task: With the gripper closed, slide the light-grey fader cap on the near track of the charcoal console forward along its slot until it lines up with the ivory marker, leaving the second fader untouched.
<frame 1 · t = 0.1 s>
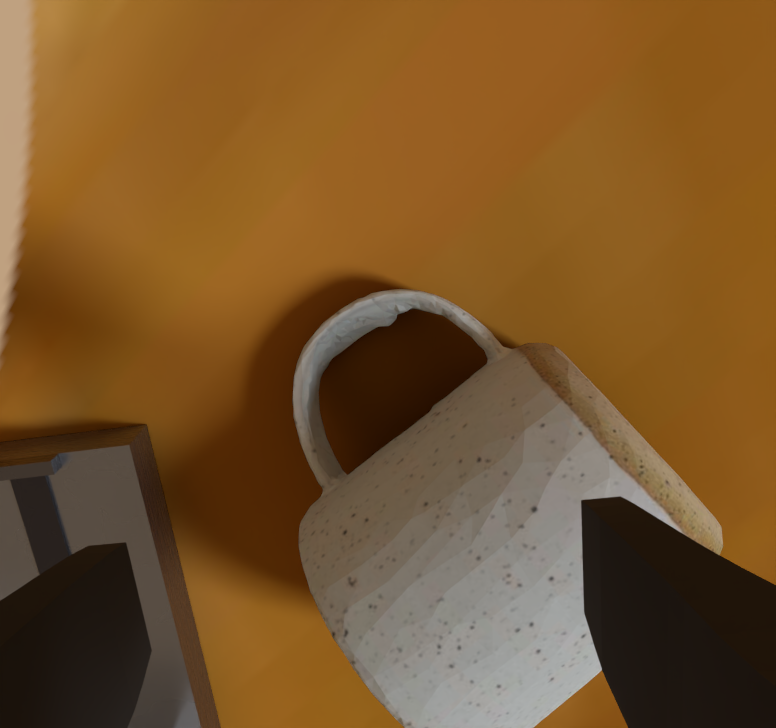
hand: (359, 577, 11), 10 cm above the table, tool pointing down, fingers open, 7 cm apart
console: (25, 718, 24), on the table
ceramic mug: (451, 443, 22), on the table
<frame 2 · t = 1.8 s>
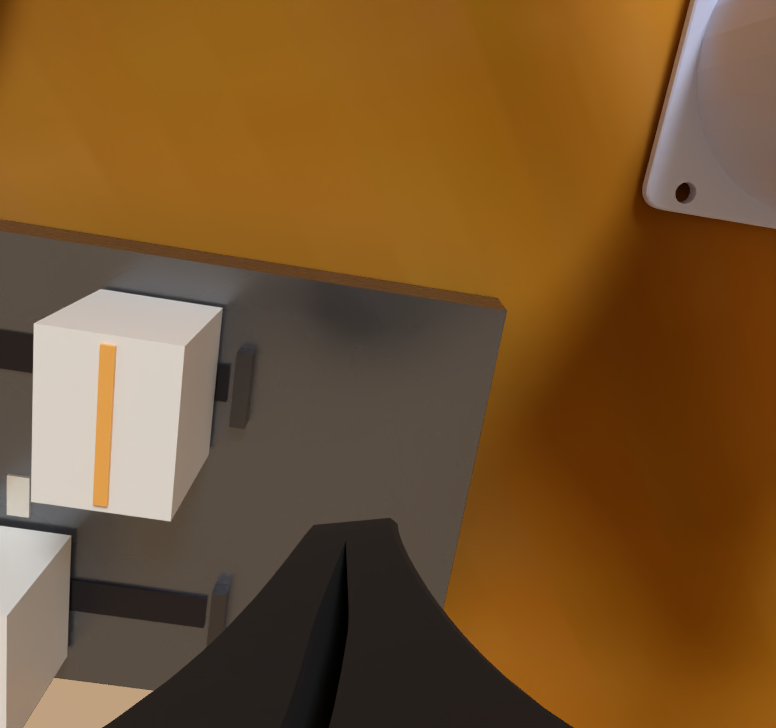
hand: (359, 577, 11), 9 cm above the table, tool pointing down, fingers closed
console: (114, 462, 21), on the table
fader a: (132, 398, 17), point 4 cm above the table, slide at 0.0 cm
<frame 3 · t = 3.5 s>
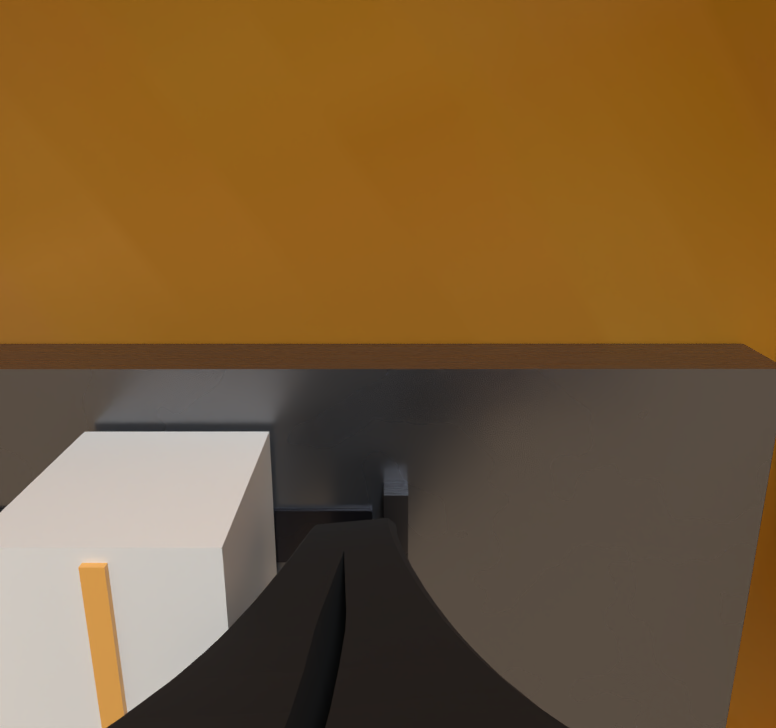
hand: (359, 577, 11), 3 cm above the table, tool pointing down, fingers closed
console: (216, 645, 15), on the table
fader a: (154, 605, 11), point 4 cm above the table, slide at 1.4 cm, touching gripper
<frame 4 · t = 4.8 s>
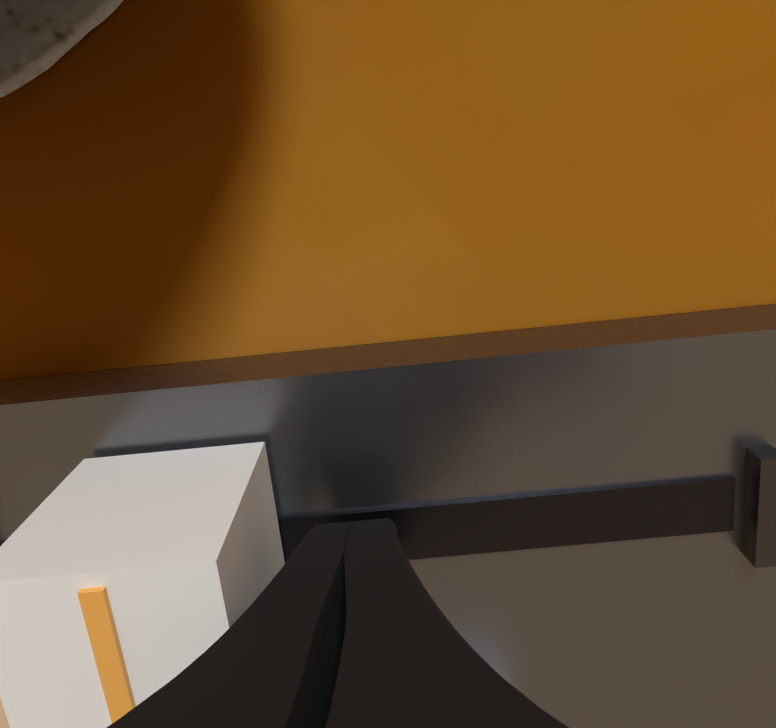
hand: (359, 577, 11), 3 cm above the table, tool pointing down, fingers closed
console: (530, 633, 15), on the table
fader a: (165, 623, 11), point 4 cm above the table, slide at 7.4 cm, touching gripper
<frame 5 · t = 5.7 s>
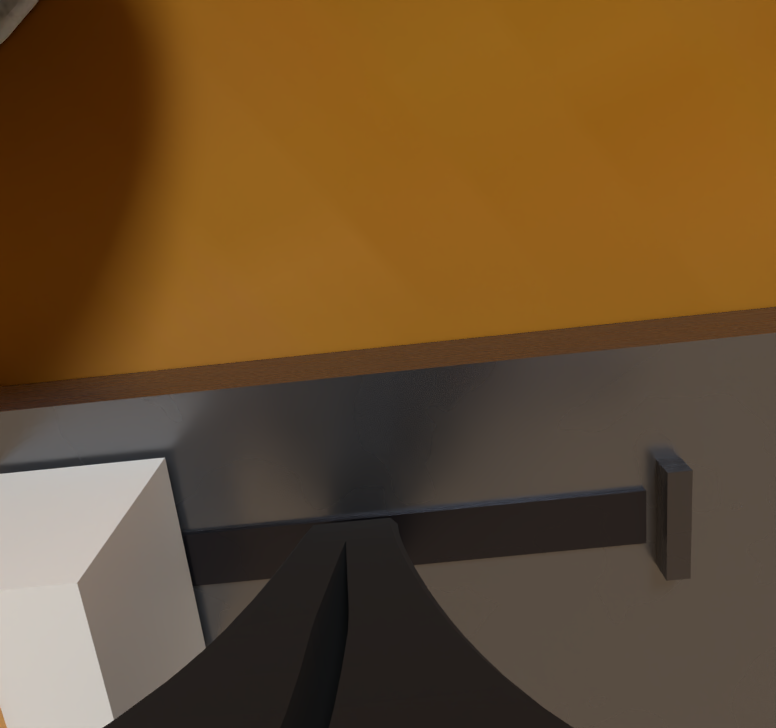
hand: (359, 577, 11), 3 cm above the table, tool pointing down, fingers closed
console: (458, 644, 15), on the table
fader a: (55, 641, 11), point 4 cm above the table, slide at 7.5 cm
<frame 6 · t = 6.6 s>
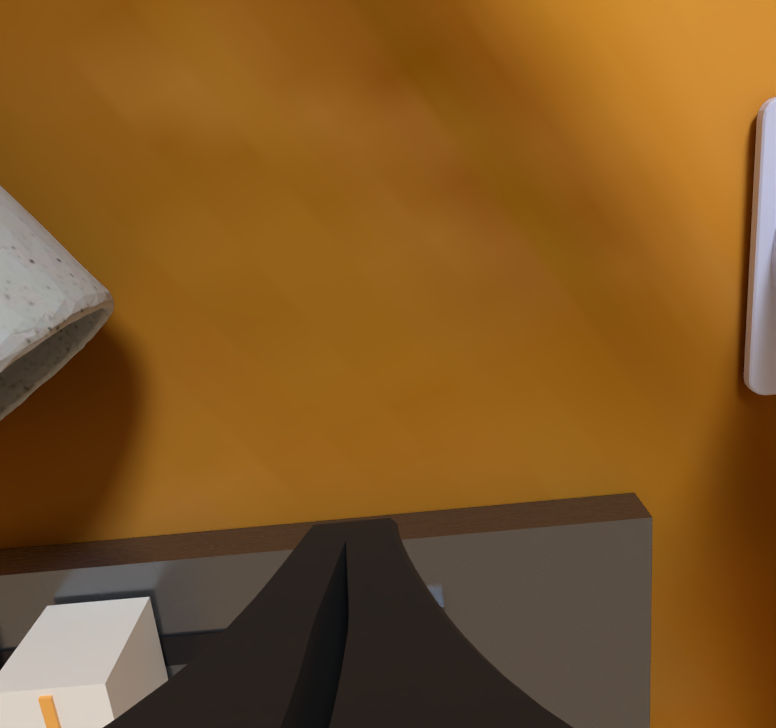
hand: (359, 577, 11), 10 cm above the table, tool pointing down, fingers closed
console: (332, 695, 24), on the table
fader a: (89, 703, 20), point 4 cm above the table, slide at 7.5 cm
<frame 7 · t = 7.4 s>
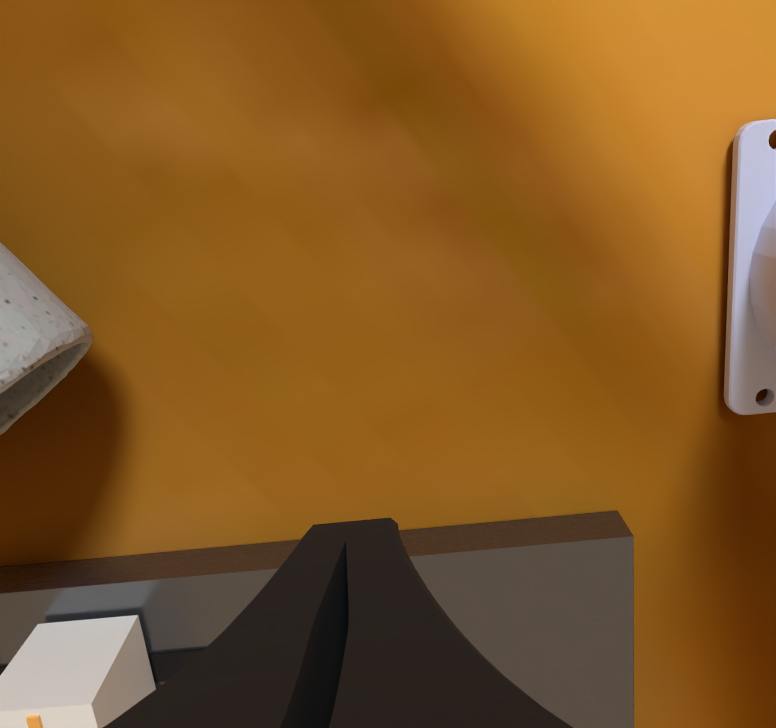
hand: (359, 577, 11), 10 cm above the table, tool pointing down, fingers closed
console: (321, 709, 24), on the table
fader a: (78, 721, 20), point 4 cm above the table, slide at 7.5 cm
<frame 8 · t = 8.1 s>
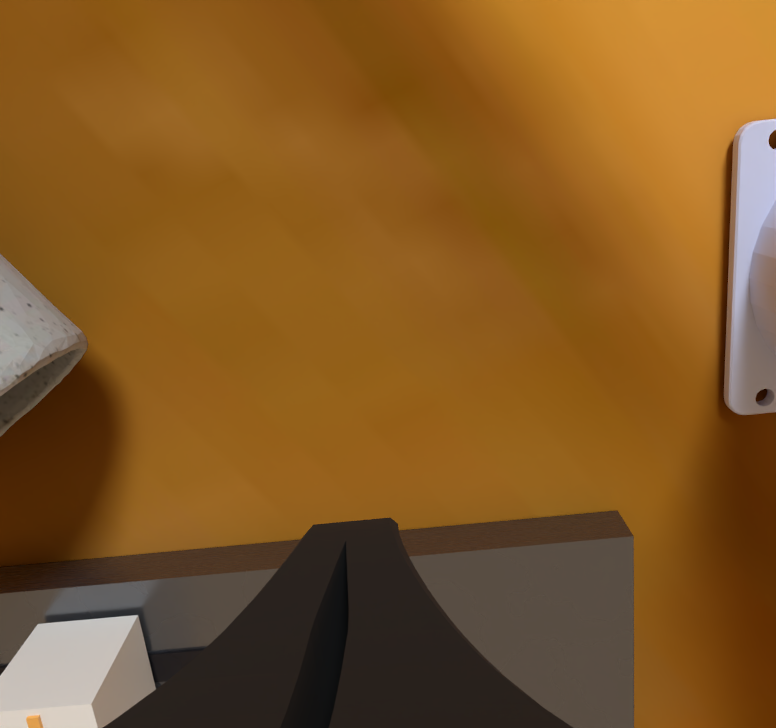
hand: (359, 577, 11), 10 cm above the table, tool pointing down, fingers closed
console: (321, 709, 24), on the table
fader a: (78, 721, 20), point 3 cm above the table, slide at 7.5 cm
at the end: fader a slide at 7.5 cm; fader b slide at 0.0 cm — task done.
